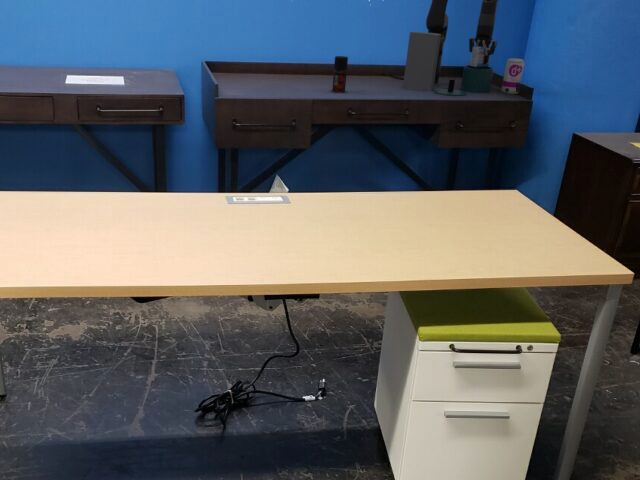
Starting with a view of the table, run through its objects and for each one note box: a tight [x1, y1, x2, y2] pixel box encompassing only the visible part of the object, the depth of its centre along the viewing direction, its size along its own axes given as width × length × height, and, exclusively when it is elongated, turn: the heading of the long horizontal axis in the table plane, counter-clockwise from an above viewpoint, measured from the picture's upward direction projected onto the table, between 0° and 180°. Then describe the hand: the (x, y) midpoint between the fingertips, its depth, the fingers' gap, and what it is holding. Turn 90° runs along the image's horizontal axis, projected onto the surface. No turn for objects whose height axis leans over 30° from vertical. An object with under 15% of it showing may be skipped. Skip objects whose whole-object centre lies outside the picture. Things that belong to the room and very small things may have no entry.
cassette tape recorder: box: [402, 30, 441, 92], centre depth 368 cm, size 14×6×25 cm, turn 62°
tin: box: [460, 64, 495, 94], centre depth 372 cm, size 14×14×11 cm
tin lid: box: [434, 78, 467, 97], centre depth 365 cm, size 15×15×7 cm
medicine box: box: [469, 46, 491, 67], centre depth 367 cm, size 8×4×9 cm, turn 118°
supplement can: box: [500, 57, 525, 95], centre depth 371 cm, size 8×8×15 cm
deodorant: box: [331, 55, 349, 94], centre depth 359 cm, size 6×6×15 cm
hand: (479, 63), depth 368 cm, fingers closed on medicine box, 5 cm apart
